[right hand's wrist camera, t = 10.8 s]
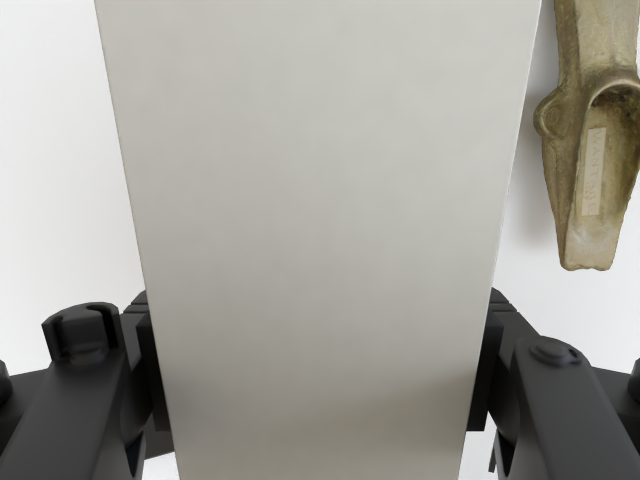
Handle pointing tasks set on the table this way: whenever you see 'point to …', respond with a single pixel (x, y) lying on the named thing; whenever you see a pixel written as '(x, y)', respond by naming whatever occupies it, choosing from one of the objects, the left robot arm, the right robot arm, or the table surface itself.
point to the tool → (592, 128)
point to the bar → (318, 221)
